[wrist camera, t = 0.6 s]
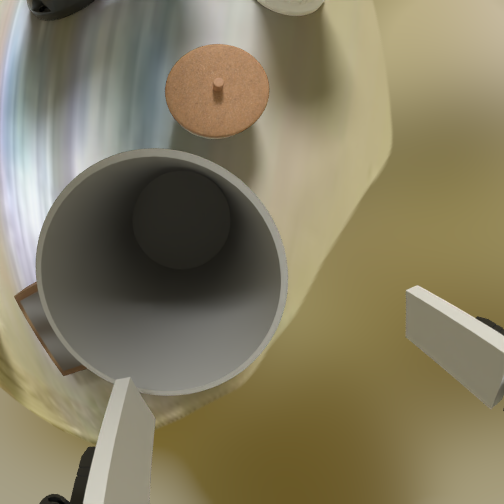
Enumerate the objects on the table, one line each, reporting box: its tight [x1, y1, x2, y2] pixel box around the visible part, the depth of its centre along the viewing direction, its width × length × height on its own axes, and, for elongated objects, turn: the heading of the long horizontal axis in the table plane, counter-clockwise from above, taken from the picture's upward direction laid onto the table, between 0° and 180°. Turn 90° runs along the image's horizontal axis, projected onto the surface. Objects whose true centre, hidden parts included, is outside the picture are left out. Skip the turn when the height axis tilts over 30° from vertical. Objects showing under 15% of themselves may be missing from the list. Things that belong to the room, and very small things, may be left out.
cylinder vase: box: [36, 148, 288, 396], centre depth 25 cm, size 12×12×25 cm
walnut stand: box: [14, 282, 87, 376], centre depth 35 cm, size 14×14×4 cm
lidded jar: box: [165, 44, 269, 139], centre depth 30 cm, size 11×11×9 cm
